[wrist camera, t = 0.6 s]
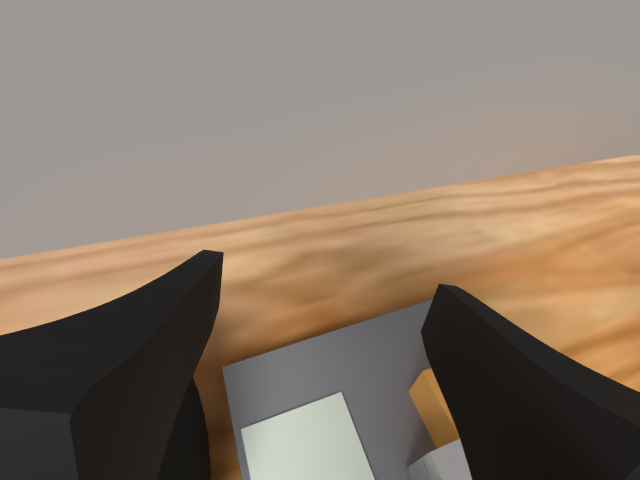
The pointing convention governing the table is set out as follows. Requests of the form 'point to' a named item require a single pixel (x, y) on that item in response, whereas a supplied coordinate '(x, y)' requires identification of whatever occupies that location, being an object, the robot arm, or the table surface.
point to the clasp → (441, 464)
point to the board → (333, 403)
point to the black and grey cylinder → (187, 442)
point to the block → (433, 409)
